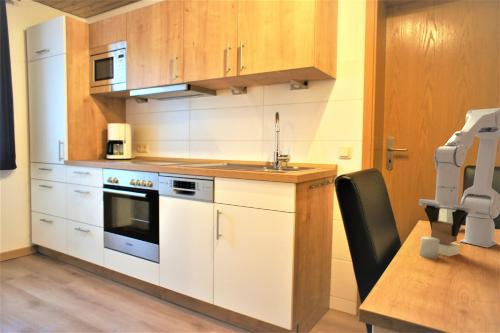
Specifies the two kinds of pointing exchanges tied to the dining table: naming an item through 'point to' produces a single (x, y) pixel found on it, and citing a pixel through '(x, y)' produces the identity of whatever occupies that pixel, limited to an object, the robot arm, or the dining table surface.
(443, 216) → the small box
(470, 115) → the robot arm
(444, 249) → the cream block
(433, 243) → the cream smooth round part
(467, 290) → the dining table surface
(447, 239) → the walnut cube
